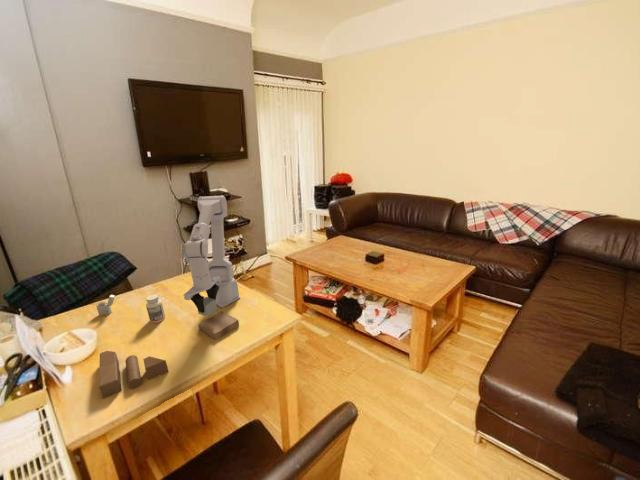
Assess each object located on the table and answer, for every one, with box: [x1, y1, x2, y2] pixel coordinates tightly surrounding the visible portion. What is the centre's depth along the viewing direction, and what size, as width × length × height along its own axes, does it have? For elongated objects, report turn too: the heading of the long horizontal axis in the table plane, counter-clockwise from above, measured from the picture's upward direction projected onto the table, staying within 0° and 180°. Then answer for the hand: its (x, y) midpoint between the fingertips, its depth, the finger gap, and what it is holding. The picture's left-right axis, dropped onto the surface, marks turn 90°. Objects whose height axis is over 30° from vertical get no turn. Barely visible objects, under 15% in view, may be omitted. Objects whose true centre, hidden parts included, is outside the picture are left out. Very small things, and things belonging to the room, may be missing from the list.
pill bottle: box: [145, 294, 166, 324], centre depth 121 cm, size 5×5×10 cm
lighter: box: [96, 294, 116, 316], centre depth 126 cm, size 7×2×8 cm, turn 98°
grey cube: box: [197, 296, 218, 318], centre depth 113 cm, size 4×4×4 cm
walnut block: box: [197, 310, 240, 341], centre depth 115 cm, size 10×10×3 cm
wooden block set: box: [98, 350, 169, 399], centre depth 97 cm, size 17×6×18 cm
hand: (207, 308), depth 113 cm, fingers closed on grey cube, 4 cm apart
